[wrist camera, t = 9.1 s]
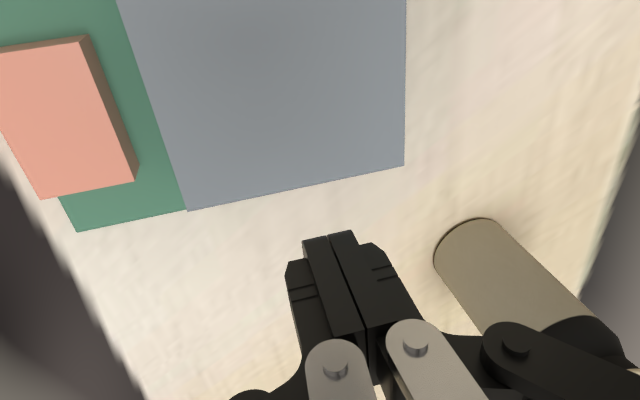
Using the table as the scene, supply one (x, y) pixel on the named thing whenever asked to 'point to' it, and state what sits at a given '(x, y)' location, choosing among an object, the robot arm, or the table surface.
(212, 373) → the table surface
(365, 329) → the robot arm
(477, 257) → the travel mug
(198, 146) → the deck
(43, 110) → the pink slab
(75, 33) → the mat
